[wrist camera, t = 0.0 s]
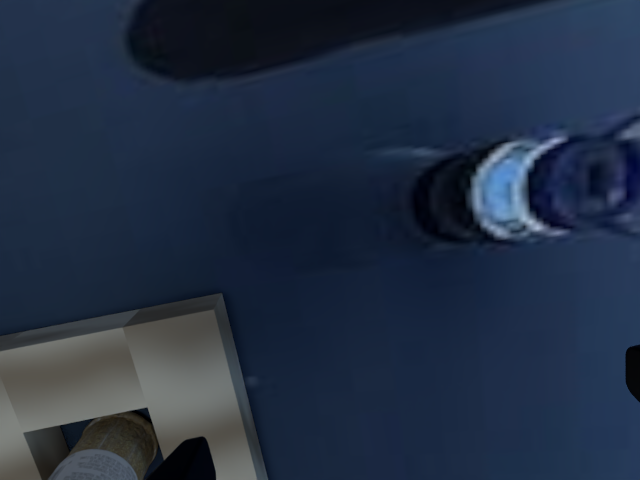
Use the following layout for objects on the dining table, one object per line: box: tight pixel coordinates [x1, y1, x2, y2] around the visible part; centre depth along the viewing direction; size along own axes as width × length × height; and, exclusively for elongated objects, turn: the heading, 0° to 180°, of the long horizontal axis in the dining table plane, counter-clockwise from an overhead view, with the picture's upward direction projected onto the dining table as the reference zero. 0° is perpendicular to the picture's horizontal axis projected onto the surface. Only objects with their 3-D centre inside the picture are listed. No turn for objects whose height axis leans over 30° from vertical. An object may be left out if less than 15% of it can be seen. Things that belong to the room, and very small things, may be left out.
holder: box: [0, 293, 268, 480], centre depth 22 cm, size 16×16×2 cm
